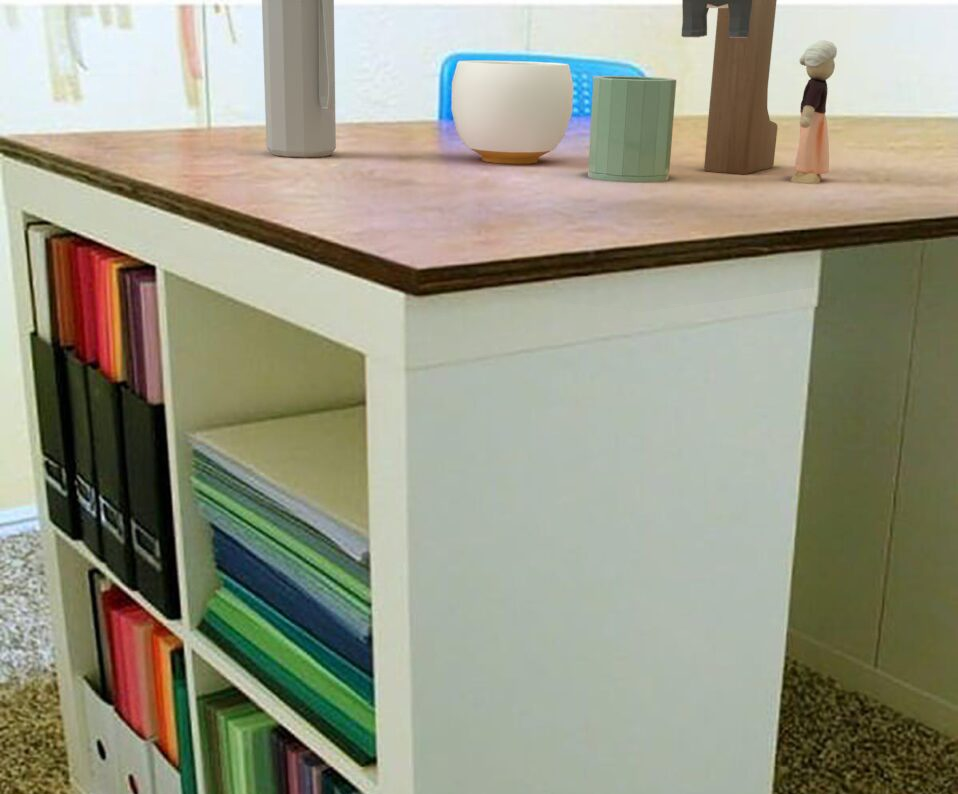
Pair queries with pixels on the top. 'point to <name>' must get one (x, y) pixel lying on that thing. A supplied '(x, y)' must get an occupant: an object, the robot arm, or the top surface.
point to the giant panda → (698, 4)
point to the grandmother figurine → (814, 114)
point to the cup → (511, 108)
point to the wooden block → (741, 96)
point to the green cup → (631, 128)
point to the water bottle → (299, 77)
